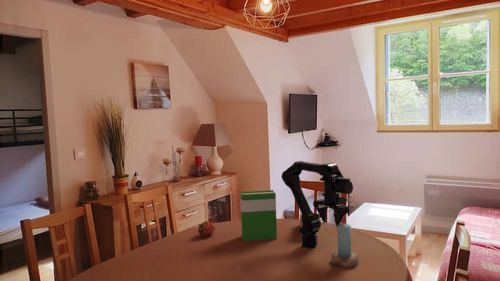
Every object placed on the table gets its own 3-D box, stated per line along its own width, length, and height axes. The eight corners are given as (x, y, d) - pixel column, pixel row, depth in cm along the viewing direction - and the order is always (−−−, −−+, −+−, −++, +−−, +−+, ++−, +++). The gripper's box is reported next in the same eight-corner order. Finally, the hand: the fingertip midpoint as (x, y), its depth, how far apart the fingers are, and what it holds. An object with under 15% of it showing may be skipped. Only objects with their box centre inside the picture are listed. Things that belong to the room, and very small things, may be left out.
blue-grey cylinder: (335, 255, 159) (334, 225, 158) (343, 252, 163) (342, 223, 162) (346, 259, 155) (345, 228, 154) (353, 255, 159) (353, 225, 158)
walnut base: (328, 265, 157) (328, 258, 156) (335, 255, 166) (334, 249, 166) (355, 269, 152) (355, 262, 152) (360, 259, 162) (360, 252, 161)
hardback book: (274, 234, 199) (273, 190, 198) (276, 238, 192) (275, 192, 190) (241, 236, 198) (240, 191, 196) (242, 241, 190) (241, 194, 188)
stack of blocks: (300, 224, 215) (300, 203, 214) (311, 224, 214) (311, 203, 213) (300, 236, 194) (299, 213, 193) (312, 237, 193) (311, 213, 192)
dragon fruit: (201, 242, 194) (208, 238, 206) (214, 233, 193) (220, 229, 205) (192, 229, 196) (200, 225, 208) (205, 219, 195) (212, 216, 207)
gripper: (358, 192, 164) (358, 226, 165) (330, 185, 181) (330, 217, 182) (339, 195, 159) (339, 231, 160) (312, 188, 175) (312, 221, 176)
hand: (330, 224), depth 170 cm, fingers open, 9 cm apart
